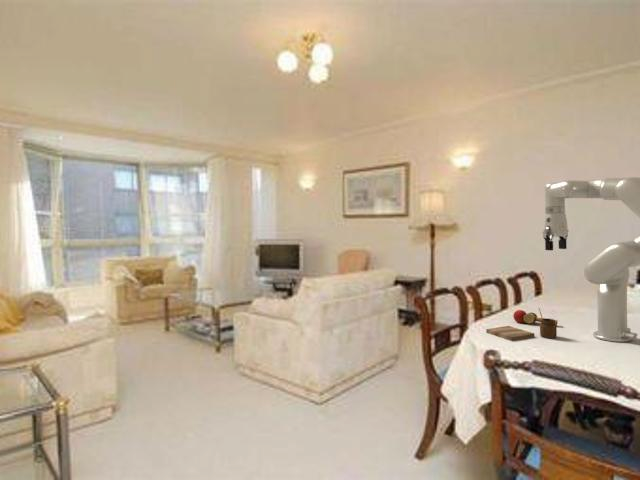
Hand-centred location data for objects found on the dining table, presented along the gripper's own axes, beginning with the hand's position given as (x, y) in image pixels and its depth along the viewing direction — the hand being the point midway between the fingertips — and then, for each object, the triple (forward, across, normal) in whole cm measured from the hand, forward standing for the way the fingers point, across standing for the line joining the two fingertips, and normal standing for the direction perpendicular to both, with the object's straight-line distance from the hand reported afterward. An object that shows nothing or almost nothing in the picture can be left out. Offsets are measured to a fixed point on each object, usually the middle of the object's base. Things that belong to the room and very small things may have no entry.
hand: (556, 249), depth 179 cm
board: (+34, -28, +3) cm, 44 cm away
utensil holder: (+35, -19, -7) cm, 40 cm away
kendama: (+35, -4, +8) cm, 36 cm away
